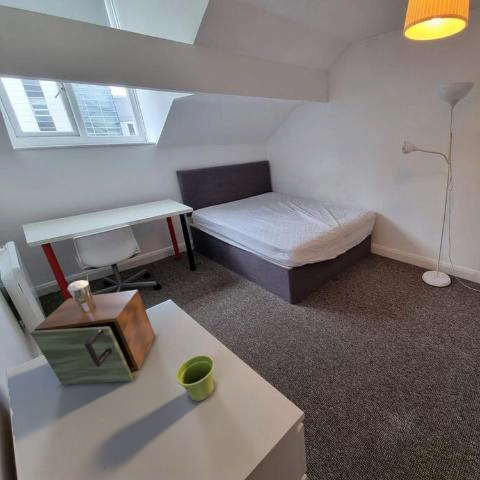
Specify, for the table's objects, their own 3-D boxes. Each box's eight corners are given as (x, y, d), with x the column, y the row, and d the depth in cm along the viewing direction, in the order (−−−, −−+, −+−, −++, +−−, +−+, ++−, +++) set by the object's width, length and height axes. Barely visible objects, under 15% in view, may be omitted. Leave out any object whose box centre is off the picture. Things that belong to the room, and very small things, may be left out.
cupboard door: (120, 397, 74) (93, 343, 66) (46, 401, 73) (10, 348, 65) (133, 377, 79) (110, 326, 71) (65, 382, 79) (33, 330, 71)
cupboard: (138, 369, 82) (116, 318, 74) (65, 381, 79) (33, 329, 71) (155, 336, 95) (137, 289, 87) (92, 346, 92) (68, 298, 84)
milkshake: (105, 304, 80) (92, 275, 76) (84, 315, 76) (69, 285, 72) (96, 300, 82) (83, 272, 78) (76, 311, 78) (61, 282, 73)
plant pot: (188, 414, 69) (180, 392, 65) (180, 388, 76) (172, 366, 72) (224, 393, 74) (218, 371, 70) (213, 370, 81) (208, 349, 77)
